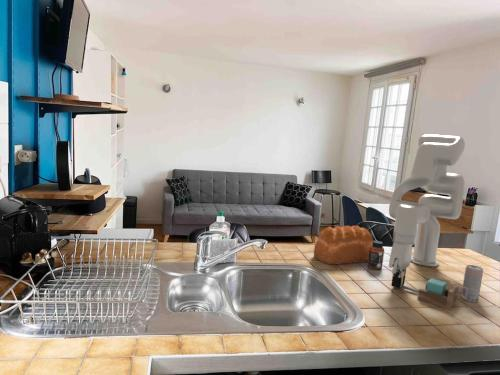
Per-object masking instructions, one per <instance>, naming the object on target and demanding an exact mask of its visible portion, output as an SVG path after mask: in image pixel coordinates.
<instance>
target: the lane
mask: <svg viewBox="0 0 500 375" xmlns="http://www.w3.org/2000/svg"><path fill="white" fill-rule="evenodd" d="M459 287H460V285H457V284H454V285H453V286H452V287H451V288H450V289H448V288H446V291H445V296H442V295H439V294H436V293H433V292H429V291H426V288H427V283H426V284H425V288H424V289H422V288H419V289H418V290H419V293H417V294H418V295H417V300H420V301H423V302H426V303H428V304H432V305H434V306H438V307H441V308H444V309H447V310H451V308H453V306H454V305H455V304H456V303H457V299H458V293H459Z"/></svg>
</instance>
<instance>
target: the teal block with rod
mask: <svg viewBox="0 0 500 375" xmlns="http://www.w3.org/2000/svg"><path fill="white" fill-rule="evenodd" d="M397 272H399V271H397ZM403 276H404V271H402V274H401V278H402V280H401V287H400V288H399V289H404V290H408V291H411V292H413V293H417V294H419V289H415V288H412V287H411V286H410V287H409V286H406V285H402V283H403ZM426 284H427V288H426V291H429V292H433V293H436V294H439V295H442V296H445V291H446V289H447V284H448V282H447V281H443V280H440V279H437V278H433V277H431V278H430V279H429V280H427V282H426Z"/></svg>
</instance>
